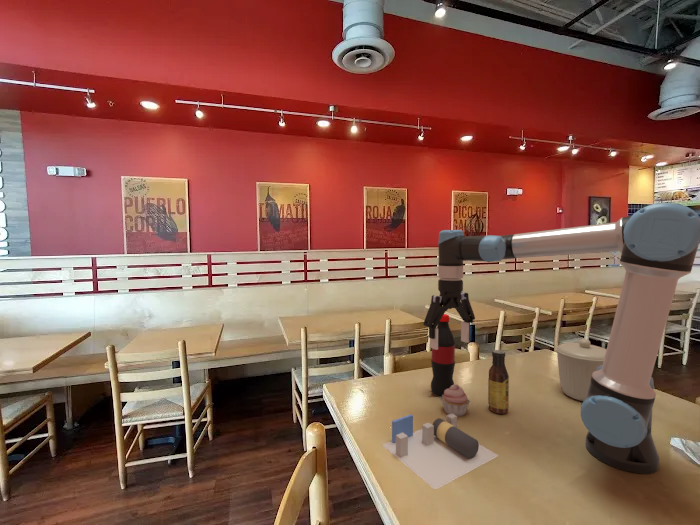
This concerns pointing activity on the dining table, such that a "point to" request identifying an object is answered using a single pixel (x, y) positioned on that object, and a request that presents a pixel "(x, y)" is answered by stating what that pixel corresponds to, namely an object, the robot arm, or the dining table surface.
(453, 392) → the cupcake
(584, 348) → the canister
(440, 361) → the cola bottle
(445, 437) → the banded cylinder post
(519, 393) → the dining table surface
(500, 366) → the sauce bottle
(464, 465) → the white base plate
